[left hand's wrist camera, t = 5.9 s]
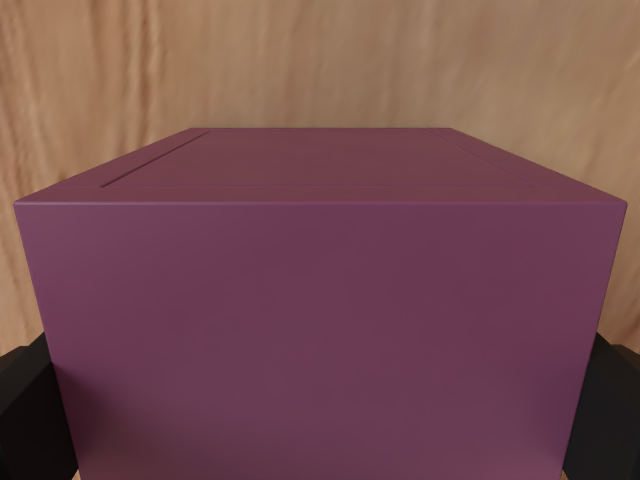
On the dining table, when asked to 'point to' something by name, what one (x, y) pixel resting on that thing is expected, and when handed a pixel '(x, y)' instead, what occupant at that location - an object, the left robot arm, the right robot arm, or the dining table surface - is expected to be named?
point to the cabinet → (320, 306)
